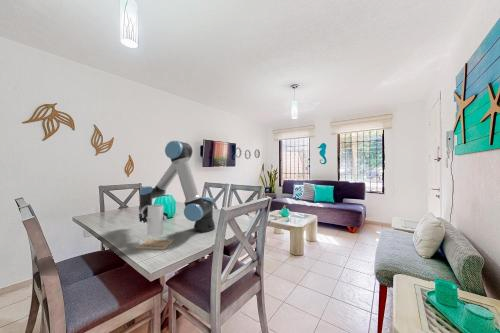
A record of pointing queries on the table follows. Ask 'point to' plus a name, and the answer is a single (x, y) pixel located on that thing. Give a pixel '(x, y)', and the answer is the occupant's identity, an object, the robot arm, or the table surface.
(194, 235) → the table surface
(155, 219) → the cup
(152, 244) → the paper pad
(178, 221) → the table surface
